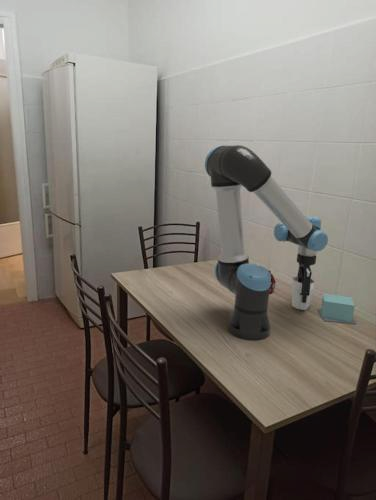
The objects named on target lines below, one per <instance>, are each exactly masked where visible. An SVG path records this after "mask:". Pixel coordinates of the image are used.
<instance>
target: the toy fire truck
mask: <svg viewBox="0 0 376 500" xmlns="http://www.w3.org/2000/svg"><path fill="white" fill-rule="evenodd" d="M267 270H268V271H269V272H270V275H271V285H270V291H269V295H271V294H272V293H273V292H274V290H275V288H276V285H277V284H276V279H275V277H274V275H273V273H271V272H272V271H271V270H269V269H267Z"/></svg>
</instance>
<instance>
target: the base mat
mask: <svg viewBox="0 0 376 500" xmlns="http://www.w3.org/2000/svg"><path fill="white" fill-rule="evenodd" d="M316 309H317V311H318V312H319V313H318V314H320V317H321V318H322V314H321V307H317V308H316ZM322 320H323V322H326V323H339V324H350V325H357V322H356V321H355V320H354V318H352V322H347V321H340V320H334V319H328V318H322Z"/></svg>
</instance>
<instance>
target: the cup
mask: <svg viewBox="0 0 376 500" xmlns="http://www.w3.org/2000/svg"><path fill="white" fill-rule="evenodd" d="M298 279H299V277H297V276H294V277H292V280H291V281H292V282H291V307H293V308H294V309H297V310H300V309H299V303H300V296H301V295H300V293H302V283H299V282H298ZM314 289H315V280H314V279H313V278H311V282H310V293H309V294H310V295H309V296H308V297H307V305H306V310H308V309H309V306H310V302H311V299H312V296H313V292H314Z"/></svg>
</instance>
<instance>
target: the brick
mask: <svg viewBox="0 0 376 500" xmlns="http://www.w3.org/2000/svg"><path fill="white" fill-rule="evenodd" d="M320 308H321V314H322V317H321V318H322V319H323V318H328V319H334V320H340V321H347V322H352V318H353V316H354V311H355V303H354V300H353V297H350V296H343V295H335V294H332V293H331V294H330V293H325V292H324V293H323V294H322V301H321V305H320ZM353 319H354V318H353Z"/></svg>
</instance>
